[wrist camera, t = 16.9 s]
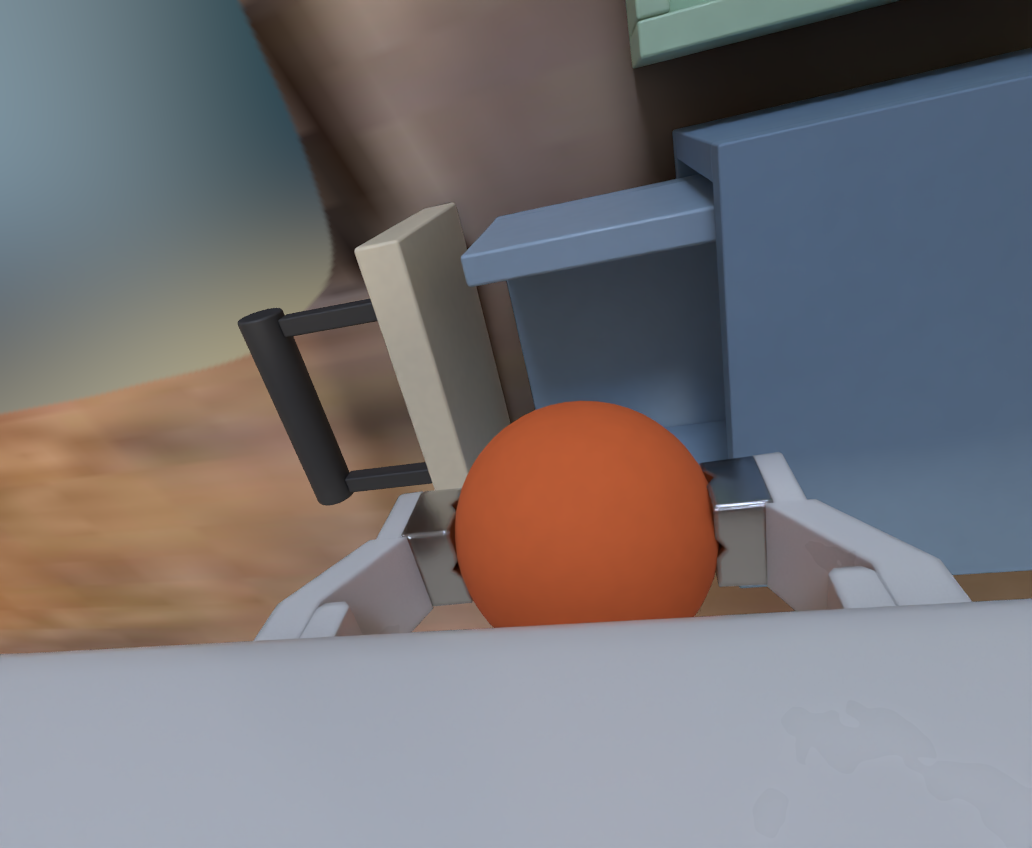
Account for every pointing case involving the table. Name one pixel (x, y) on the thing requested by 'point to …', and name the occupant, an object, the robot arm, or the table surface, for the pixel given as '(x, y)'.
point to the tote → (720, 23)
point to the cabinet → (885, 301)
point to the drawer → (522, 328)
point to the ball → (585, 520)
